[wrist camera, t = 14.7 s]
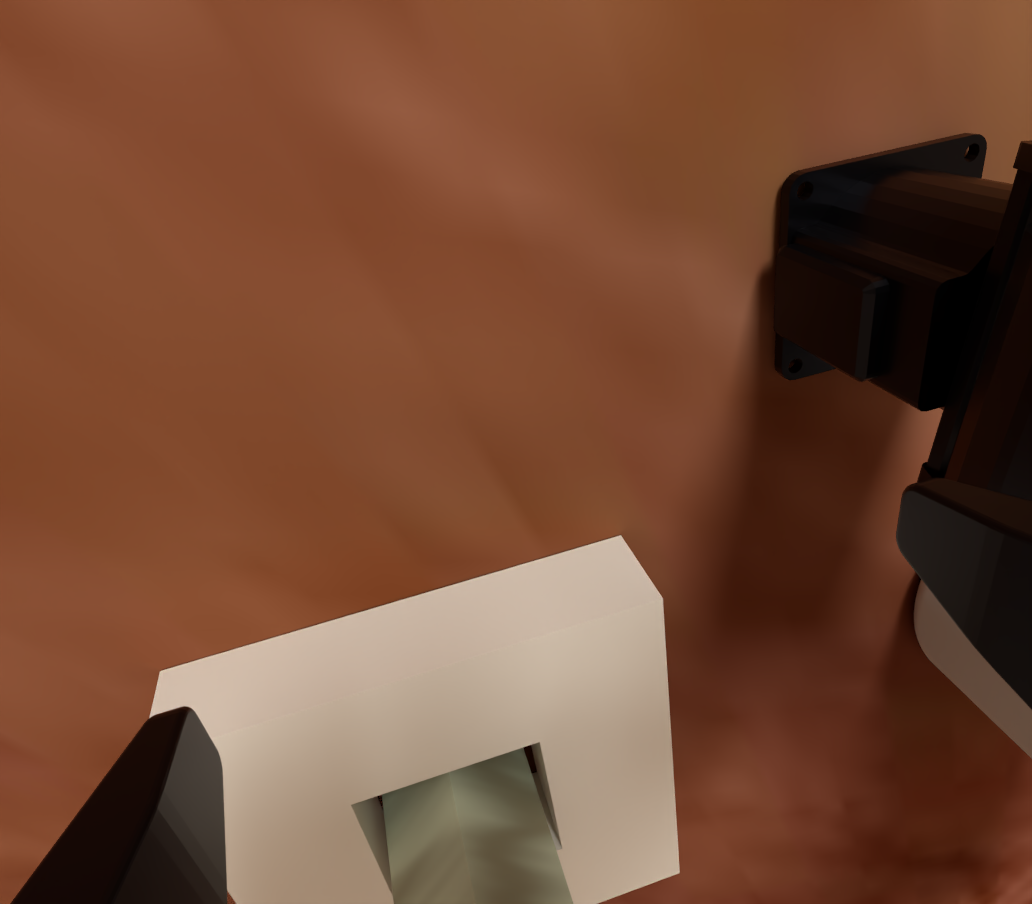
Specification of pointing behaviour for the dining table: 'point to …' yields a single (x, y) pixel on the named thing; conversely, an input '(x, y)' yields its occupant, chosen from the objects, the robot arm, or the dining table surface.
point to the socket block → (447, 726)
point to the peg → (473, 838)
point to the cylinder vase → (970, 669)
